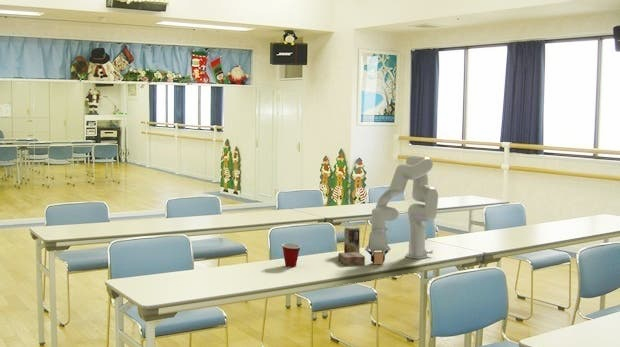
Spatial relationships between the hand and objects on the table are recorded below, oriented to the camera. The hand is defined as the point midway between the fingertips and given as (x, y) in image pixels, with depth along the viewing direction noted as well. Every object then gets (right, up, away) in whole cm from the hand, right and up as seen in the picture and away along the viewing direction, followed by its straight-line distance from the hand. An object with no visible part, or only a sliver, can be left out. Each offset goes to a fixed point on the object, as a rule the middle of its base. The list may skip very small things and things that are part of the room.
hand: (377, 261), depth 382 cm
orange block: (0, -1, 0) cm, 1 cm away
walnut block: (-15, -1, +2) cm, 15 cm away
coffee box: (-13, +1, +20) cm, 24 cm away
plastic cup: (-49, -2, -8) cm, 49 cm away
